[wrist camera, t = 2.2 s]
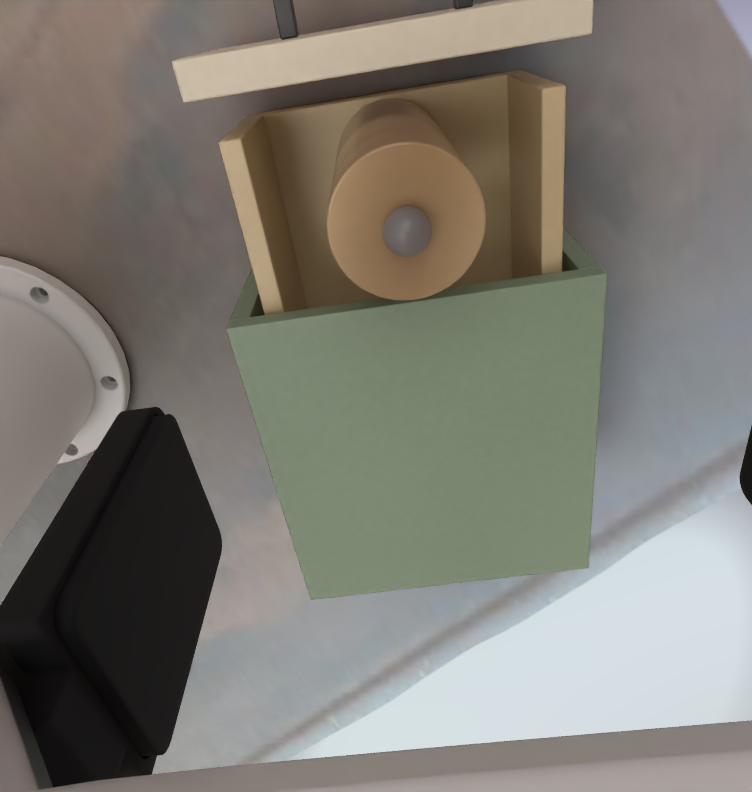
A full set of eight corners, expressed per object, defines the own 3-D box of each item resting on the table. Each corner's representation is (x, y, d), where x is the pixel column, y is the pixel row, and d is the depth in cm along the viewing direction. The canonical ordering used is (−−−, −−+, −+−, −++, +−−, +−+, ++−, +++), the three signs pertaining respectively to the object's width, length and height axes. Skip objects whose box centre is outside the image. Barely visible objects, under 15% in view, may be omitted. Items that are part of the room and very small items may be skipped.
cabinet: (258, 251, 30) (225, 329, 22) (546, 207, 29) (607, 273, 22) (320, 488, 38) (310, 600, 31) (544, 460, 37) (588, 568, 30)
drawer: (179, -93, 22) (115, -130, 16) (537, -160, 21) (603, -225, 15) (294, 360, 32) (279, 436, 26) (537, 326, 31) (577, 396, 25)
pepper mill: (333, 206, 27) (319, 308, 17) (342, 90, 24) (330, 139, 15) (435, 217, 27) (474, 323, 18) (454, 105, 24) (511, 161, 15)
